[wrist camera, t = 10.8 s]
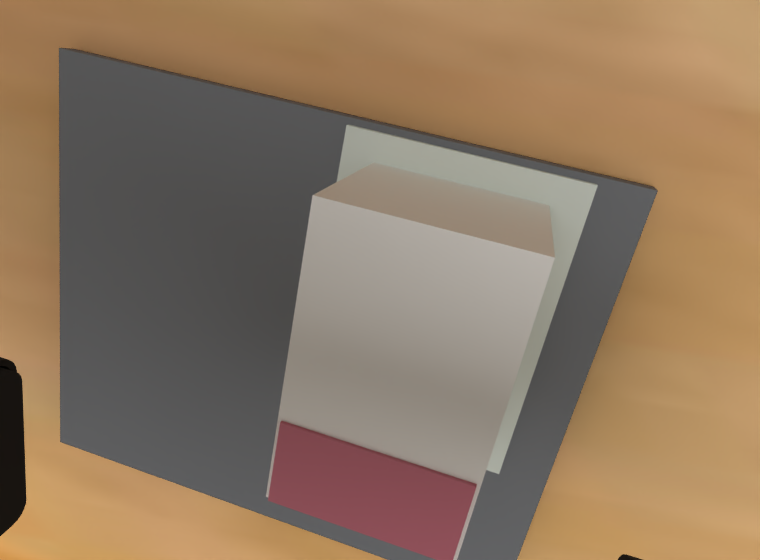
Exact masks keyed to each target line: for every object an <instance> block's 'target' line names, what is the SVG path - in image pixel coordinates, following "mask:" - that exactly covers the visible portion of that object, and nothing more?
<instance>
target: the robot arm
mask: <svg viewBox="0 0 760 560" xmlns="http://www.w3.org/2000/svg"><path fill="white" fill-rule="evenodd" d="M25 504H26V479H25V450H24V421H23V393H22V378H21V376H20V374H19V373H17V370H16V366H15V365H14V363H13V362H12V361H10V360H7V359H4V358H1V357H0V536H1V535H2V534H3V533H4V532H5V531H7V530H8V529H9V528H10V527H11V526H12V525H13V524H14V523H15V522H16V521H17V520H18V518H19V517H20V515H21V514H22V512H23V510H24V507H25ZM618 560H642V559H639V558H636V557H632V556H629V555H625V554H623V555H621V556H620V557H619V558H618Z"/></svg>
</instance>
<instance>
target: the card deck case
mask: <svg viewBox="0 0 760 560" xmlns="http://www.w3.org/2000/svg"><path fill="white" fill-rule="evenodd" d="M554 259H555V253H554V244H553V235H552V225H551V216H550V207H549V205H546V204H542V203H538V202H534V201H530V200H526V199H522V198H518V197H513V196H509V195H505V194H501V193H497V192H493V191H489V190H485V189H481V188H477V187H473V186H468V185H464V184H460V183H456V182H452V181H448V180H444V179H440V178H436V177H432V176H427V175H423V174H419V173H415V172H411V171H407V170H403V169H399V168H395V167H391V166H386V165H382V164H378V163H374V162H373V163H371V164H369V165H368V166H366V167H364V168H362V169H360V170H358V171H356V172H355V173H353V174H351V175H349V176H347V177H345V178H343V179H342V180H340V181H338V182H336V183H334V184H332V185H330V186H329V187H327V188H325V189H323V190H321V191H319V192H317V193H316V194H314V195H312V202H311V208H310V215H309V221H308V228H307V234H306V241H305V247H304V253H303V260H302V266H301V273H300V279H299V286H298V292H297V299H296V305H295V312H294V318H293V324H292V331H291V337H290V344H289V350H288V357H287V363H286V370H285V376H284V383H283V389H282V395H281V402H280V408H279V415H278V421H277V428H276V434H275V441H274V447H273V453H272V460H271V466H270V473H269V479H268V486H267V492H266V497H268V501H270V502H273V503H276V504H279V505H282V506H284V507H287V508H290V509H293V510H296V511H299V512H302V513H304V514H307V515H310V516H313V517H316V518H319V519H322V520H324V521H327V522H330V523H333V524H336V525H339V526H342V527H344V528H347V529H350V530H353V531H356V532H359V533H362V534H364V535H367V536H370V537H373V538H376V539H379V540H382V541H384V542H387V543H390V544H393V545H396V546H399V547H402V548H404V549H407V550H410V551H413V552H416V553H419V554H422V555H424V556H427V557H430V558H433V559H436V560H457V559H458V555H459V552H460V549H461V546H462V543H463V540H464V537H465V534H466V531H467V528H468V525H469V522H470V518H471V515H472V512H473V509H474V506H475V503H476V500H477V497H478V494H479V491H480V488H481V485H482V481H483V478H484V475H485V472H486V469H487V466H488V463H489V460H490V457H491V454H492V451H493V447H494V444H495V441H496V438H497V435H498V432H499V429H500V426H501V423H502V420H503V417H504V414H505V410H506V407H507V404H508V401H509V398H510V395H511V392H512V389H513V386H514V383H515V380H516V377H517V373H518V370H519V367H520V364H521V361H522V358H523V355H524V352H525V349H526V346H527V343H528V339H529V336H530V333H531V330H532V327H533V324H534V321H535V318H536V315H537V312H538V309H539V306H540V302H541V299H542V296H543V293H544V290H545V287H546V284H547V281H548V278H549V275H550V272H551V269H552V265H553V262H554Z"/></svg>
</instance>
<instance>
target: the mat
mask: <svg viewBox="0 0 760 560" xmlns="http://www.w3.org/2000/svg"><path fill="white" fill-rule="evenodd" d="M373 162H374V163H378V164H382V165H386V166H391V167H395V168H399V169H403V170H407V171H411V172H415V173H419V174H423V175H427V176H432V177H436V178H440V179H444V180H448V181H452V182H456V183H460V184H464V185H468V186H473V187H477V188H481V189H485V190H489V191H493V192H497V193H501V194H505V195H509V196H513V197H518V198H522V199H526V200H530V201H534V202H538V203H542V204H546V205H549V207H550V216H551V225H552V235H553V244H554V253H555V259H554V262H553V265H552V269H551V272H550V275H549V278H548V281H547V284H546V287H545V290H544V293H543V296H542V299H541V302H540V306H539V309H538V312H537V315H536V318H535V321H534V324H533V327H532V330H531V333H530V336H529V339H528V343H527V346H526V349H525V352H524V355H523V358H522V361H521V364H520V367H519V370H518V373H517V377H516V380H515V383H514V386H513V389H512V392H511V395H510V398H509V401H508V404H507V407H506V410H505V414H504V417H503V420H502V423H501V426H500V429H499V432H498V435H497V438H496V441H495V444H494V447H493V451H492V454H491V457H490V460H489V463H488V466H487V469H486V472H485V475H484V478H483V481H482V485H481V488H480V491H479V494H478V497H477V500H476V503H475V506H474V509H473V512H472V515H471V518H470V522H469V525H468V528H467V531H466V534H465V537H464V540H463V543H462V546H461V549H460V552H459V555H458V559H457V560H517V558H518V555H519V553H520V550H521V547H522V545H523V542H524V540H525V537H526V534H527V532H528V529H529V526H530V524H531V521H532V519H533V516H534V513H535V511H536V508H537V506H538V503H539V500H540V498H541V495H542V492H543V490H544V487H545V485H546V482H547V479H548V477H549V474H550V471H551V469H552V466H553V464H554V461H555V458H556V456H557V453H558V451H559V448H560V445H561V443H562V440H563V437H564V435H565V432H566V430H567V427H568V424H569V422H570V419H571V416H572V414H573V411H574V409H575V406H576V403H577V401H578V398H579V396H580V393H581V390H582V388H583V385H584V382H585V380H586V377H587V375H588V372H589V369H590V367H591V364H592V361H593V359H594V356H595V354H596V351H597V348H598V346H599V343H600V341H601V338H602V335H603V333H604V330H605V327H606V325H607V322H608V320H609V317H610V314H611V312H612V309H613V306H614V304H615V301H616V299H617V296H618V293H619V291H620V288H621V286H622V283H623V280H624V278H625V275H626V272H627V270H628V267H629V265H630V262H631V259H632V257H633V254H634V251H635V249H636V246H637V244H638V241H639V238H640V236H641V233H642V231H643V228H644V225H645V223H646V220H647V217H648V215H649V212H650V210H651V207H652V204H653V202H654V199H655V196H656V194H657V190H656V189H655V188H654V187H652V186H648V185H644V184H640V183H636V182H631V181H627V180H623V179H619V178H615V177H610V176H606V175H602V174H598V173H594V172H589V171H585V170H581V169H577V168H573V167H568V166H564V165H560V164H556V163H552V162H547V161H543V160H539V159H535V158H530V157H526V156H522V155H518V154H514V153H509V152H505V151H501V150H497V149H493V148H488V147H484V146H480V145H476V144H472V143H467V142H463V141H459V140H455V139H451V138H446V137H442V136H438V135H434V134H430V133H425V132H421V131H417V130H413V129H409V128H404V127H400V126H396V125H392V124H387V123H383V122H379V121H375V120H371V119H366V118H362V117H358V116H354V115H350V114H345V113H341V112H337V111H333V110H329V109H324V108H320V107H316V106H312V105H308V104H303V103H299V102H295V101H291V100H287V99H282V98H278V97H274V96H270V95H265V94H261V93H257V92H253V91H249V90H244V89H240V88H236V87H232V86H228V85H223V84H219V83H215V82H211V81H207V80H202V79H198V78H194V77H190V76H186V75H181V74H177V73H173V72H169V71H165V70H160V69H156V68H152V67H148V66H144V65H139V64H135V63H131V62H127V61H122V60H118V59H114V58H110V57H106V56H101V55H97V54H93V53H89V52H85V51H80V50H76V49H69V48H59V166H60V442H62V443H65V444H68V445H71V446H73V447H76V448H79V449H82V450H84V451H87V452H90V453H93V454H96V455H98V456H101V457H104V458H107V459H109V460H112V461H115V462H118V463H121V464H123V465H126V466H129V467H132V468H135V469H137V470H140V471H143V472H146V473H148V474H151V475H154V476H157V477H160V478H162V479H165V480H168V481H171V482H174V483H176V484H179V485H182V486H185V487H187V488H190V489H193V490H196V491H199V492H201V493H204V494H207V495H210V496H212V497H215V498H218V499H221V500H224V501H226V502H229V503H232V504H235V505H238V506H240V507H243V508H246V509H249V510H251V511H254V512H257V513H260V514H263V515H265V516H268V517H271V518H274V519H277V520H279V521H282V522H285V523H288V524H290V525H293V526H296V527H299V528H302V529H304V530H307V531H310V532H313V533H315V534H318V535H321V536H324V537H327V538H329V539H332V540H335V541H338V542H341V543H343V544H346V545H349V546H352V547H354V548H357V549H360V550H363V551H366V552H368V553H371V554H374V555H377V556H380V557H382V558H385V559H388V560H436V559H433V558H430V557H427V556H424V555H422V554H419V553H416V552H413V551H410V550H407V549H404V548H402V547H399V546H396V545H393V544H390V543H387V542H384V541H382V540H379V539H376V538H373V537H370V536H367V535H364V534H362V533H359V532H356V531H353V530H350V529H347V528H344V527H342V526H339V525H336V524H333V523H330V522H327V521H324V520H322V519H319V518H316V517H313V516H310V515H307V514H304V513H302V512H299V511H296V510H293V509H290V508H287V507H284V506H282V505H279V504H276V503H273V502H270V501H268V497H266V492H267V486H268V479H269V473H270V466H271V460H272V453H273V447H274V441H275V434H276V428H277V421H278V415H279V408H280V402H281V395H282V389H283V383H284V376H285V370H286V363H287V357H288V350H289V344H290V337H291V331H292V324H293V318H294V312H295V305H296V299H297V292H298V286H299V279H300V273H301V266H302V260H303V253H304V247H305V241H306V234H307V228H308V221H309V215H310V208H311V202H312V195H314V194H316V193H317V192H319V191H321V190H323V189H325V188H327V187H329V186H330V185H332V184H334V183H336V182H338V181H340V180H342V179H343V178H345V177H347V176H349V175H351V174H353V173H355V172H356V171H358V170H360V169H362V168H364V167H366V166H368V165H369V164H371V163H373Z"/></svg>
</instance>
